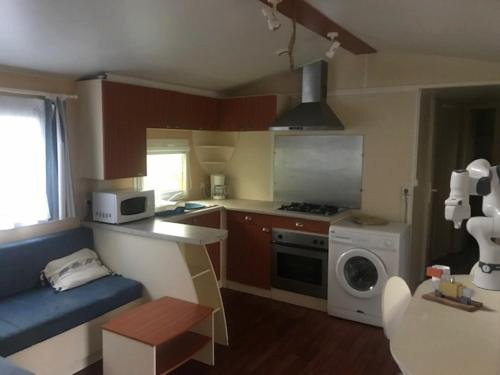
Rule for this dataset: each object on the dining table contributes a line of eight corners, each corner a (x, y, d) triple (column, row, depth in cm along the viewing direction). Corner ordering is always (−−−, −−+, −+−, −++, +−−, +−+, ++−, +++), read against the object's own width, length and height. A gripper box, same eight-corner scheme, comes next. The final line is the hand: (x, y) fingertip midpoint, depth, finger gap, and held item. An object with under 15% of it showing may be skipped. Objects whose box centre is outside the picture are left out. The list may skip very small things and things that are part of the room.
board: (435, 293, 212) (436, 290, 212) (482, 306, 194) (482, 303, 194) (421, 298, 204) (421, 295, 204) (469, 311, 186) (469, 308, 185)
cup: (447, 292, 214) (448, 270, 214) (428, 289, 220) (430, 267, 219) (450, 288, 222) (451, 267, 221) (433, 285, 227) (434, 264, 226)
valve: (436, 293, 207) (437, 277, 206) (473, 303, 193) (474, 286, 192) (430, 295, 203) (431, 279, 203) (468, 306, 189) (469, 288, 188)
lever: (455, 281, 198) (456, 272, 197) (453, 282, 196) (453, 273, 196) (429, 275, 208) (429, 266, 208) (426, 276, 206) (426, 267, 206)
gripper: (462, 200, 216) (460, 225, 217) (443, 201, 204) (441, 228, 204) (474, 201, 211) (473, 227, 212) (455, 202, 199) (454, 230, 199)
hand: (457, 228), depth 208 cm, fingers closed
